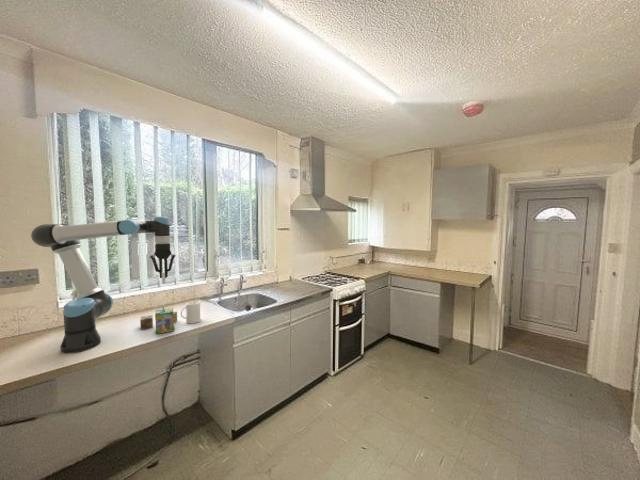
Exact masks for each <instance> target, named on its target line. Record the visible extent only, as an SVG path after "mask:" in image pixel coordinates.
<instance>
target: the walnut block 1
mask: <svg viewBox="0 0 640 480" xmlns="http://www.w3.org/2000/svg"><path fill="white" fill-rule="evenodd" d="M139 321H140V323H139V324H140V330H147V329H153V328H154V327H153V326H154V324H153V323H154V322H153V321H154V319H153V314H151V315H144V316H140V319H139Z"/></svg>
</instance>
